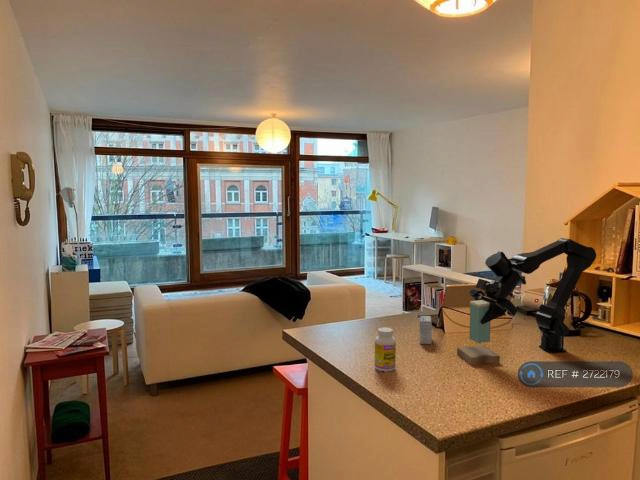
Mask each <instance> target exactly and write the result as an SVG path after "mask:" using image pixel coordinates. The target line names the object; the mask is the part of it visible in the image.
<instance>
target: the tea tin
mask: <svg viewBox="0 0 640 480" xmlns="http://www.w3.org/2000/svg"><path fill="white" fill-rule="evenodd" d="M489 307H490V303H489V302H486V301H484V300H477V301H475V300H470V301H469V340H471V341H473V342H475V343H477V344H480V343H481V344H482V343H489V342H491V321H489V322H487V323H485V324H481V323H480V321H481V320H482V318H483V317H484V315H485V314H486V312H487V311H488V310H489Z"/></svg>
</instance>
